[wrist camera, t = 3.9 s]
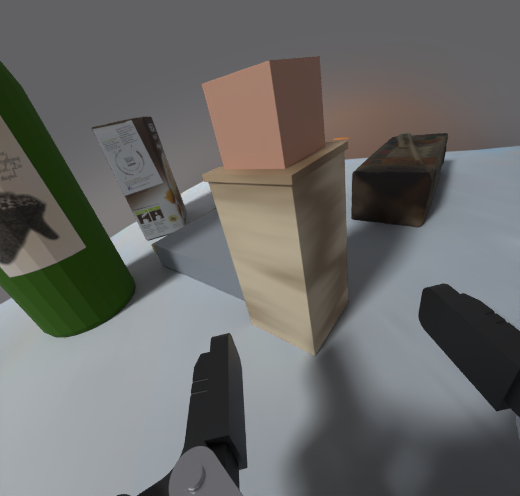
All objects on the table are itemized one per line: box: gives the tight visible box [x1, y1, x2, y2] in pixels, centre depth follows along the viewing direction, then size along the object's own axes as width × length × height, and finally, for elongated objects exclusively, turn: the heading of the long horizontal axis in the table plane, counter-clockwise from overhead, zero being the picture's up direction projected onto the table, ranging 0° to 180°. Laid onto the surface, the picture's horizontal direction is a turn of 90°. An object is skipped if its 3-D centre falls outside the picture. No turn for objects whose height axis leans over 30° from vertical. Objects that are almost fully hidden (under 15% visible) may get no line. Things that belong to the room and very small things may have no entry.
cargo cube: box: [202, 56, 325, 169], centre depth 13 cm, size 4×4×4 cm
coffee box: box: [91, 117, 186, 240], centre depth 38 cm, size 9×6×16 cm
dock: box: [152, 208, 245, 300], centre depth 30 cm, size 14×14×3 cm
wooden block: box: [202, 141, 348, 356], centre depth 17 cm, size 6×6×12 cm
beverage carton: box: [351, 133, 448, 227], centre depth 33 cm, size 8×19×7 cm, turn 144°
